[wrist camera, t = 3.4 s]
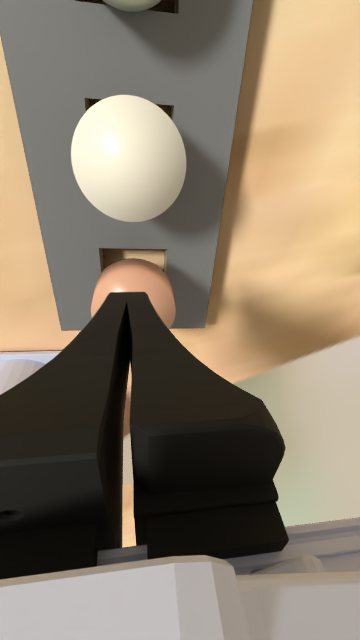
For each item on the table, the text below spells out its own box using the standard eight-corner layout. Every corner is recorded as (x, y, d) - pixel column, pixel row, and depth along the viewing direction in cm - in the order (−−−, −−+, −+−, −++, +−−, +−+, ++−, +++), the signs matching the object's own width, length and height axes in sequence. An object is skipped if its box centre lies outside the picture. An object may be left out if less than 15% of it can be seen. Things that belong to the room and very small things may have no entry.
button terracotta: (167, 310, 20) (173, 343, 17) (101, 310, 19) (95, 346, 17) (171, 248, 18) (178, 276, 15) (94, 246, 17) (86, 275, 14)
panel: (200, 315, 23) (204, 327, 22) (65, 317, 22) (61, 330, 20) (271, -212, 10) (291, -257, 9) (-50, -290, 9) (-82, -357, 8)
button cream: (174, 201, 16) (182, 223, 13) (89, 198, 15) (79, 220, 13) (179, 100, 13) (191, 100, 11) (78, 91, 13) (62, 89, 10)
